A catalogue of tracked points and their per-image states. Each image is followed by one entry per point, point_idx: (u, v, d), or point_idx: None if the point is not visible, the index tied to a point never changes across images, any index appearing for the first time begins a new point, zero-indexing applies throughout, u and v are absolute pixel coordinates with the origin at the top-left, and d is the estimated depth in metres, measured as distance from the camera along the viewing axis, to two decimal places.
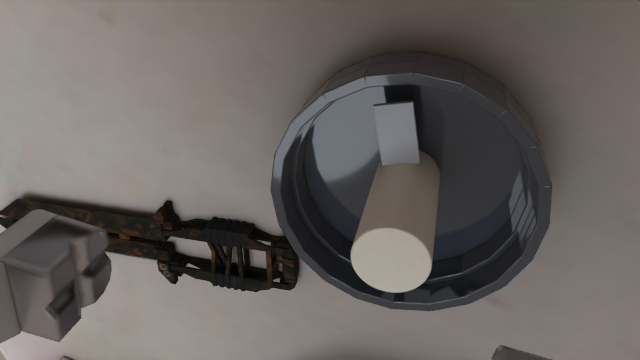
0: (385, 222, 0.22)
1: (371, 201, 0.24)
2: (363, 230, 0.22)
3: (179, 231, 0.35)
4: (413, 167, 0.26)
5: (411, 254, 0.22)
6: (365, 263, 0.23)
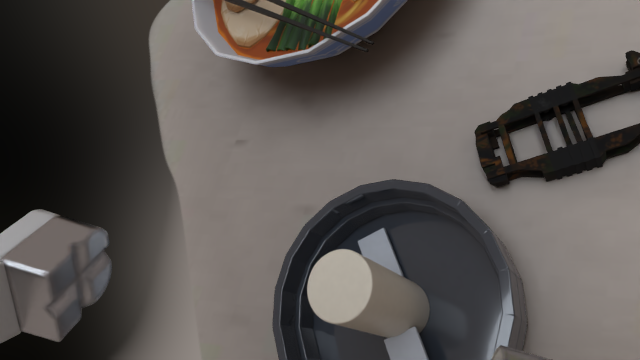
0: (353, 322, 0.24)
1: (391, 312, 0.25)
2: (369, 306, 0.23)
3: (638, 133, 0.27)
4: (385, 336, 0.28)
5: (323, 301, 0.24)
6: (357, 273, 0.24)
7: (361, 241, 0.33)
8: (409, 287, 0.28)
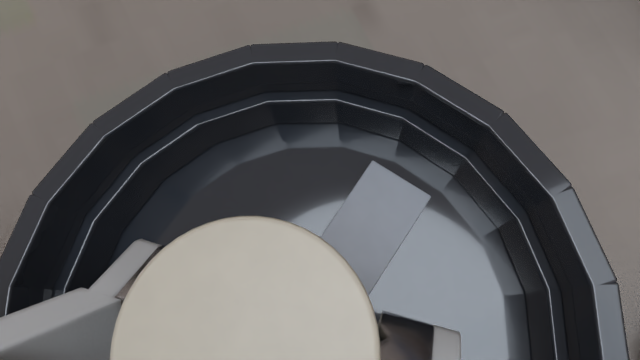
0: None
1: None
2: None
3: None
4: None
5: (164, 333, 0.07)
6: None
7: (377, 168, 0.15)
8: None
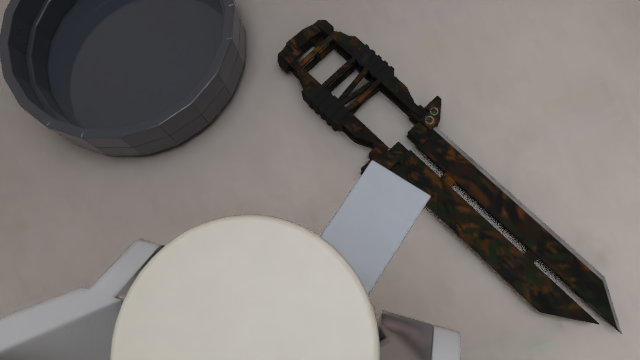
0: None
1: None
2: None
3: (367, 139, 0.30)
4: None
5: (165, 331, 0.07)
6: None
7: (376, 168, 0.15)
8: None
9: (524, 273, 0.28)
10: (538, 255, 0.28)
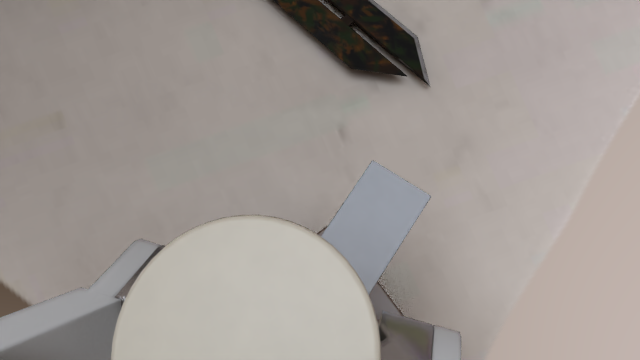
0: None
1: None
2: None
3: None
4: None
5: (165, 332, 0.07)
6: None
7: (377, 168, 0.15)
8: None
9: (338, 35, 0.28)
10: (353, 18, 0.28)
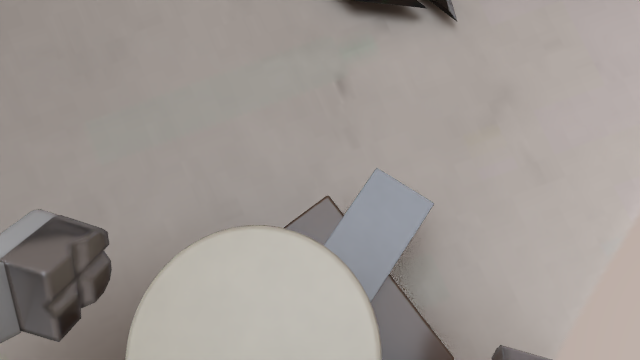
0: None
1: None
2: None
3: None
4: None
5: (177, 336, 0.07)
6: None
7: (381, 176, 0.15)
8: None
9: None
10: None
